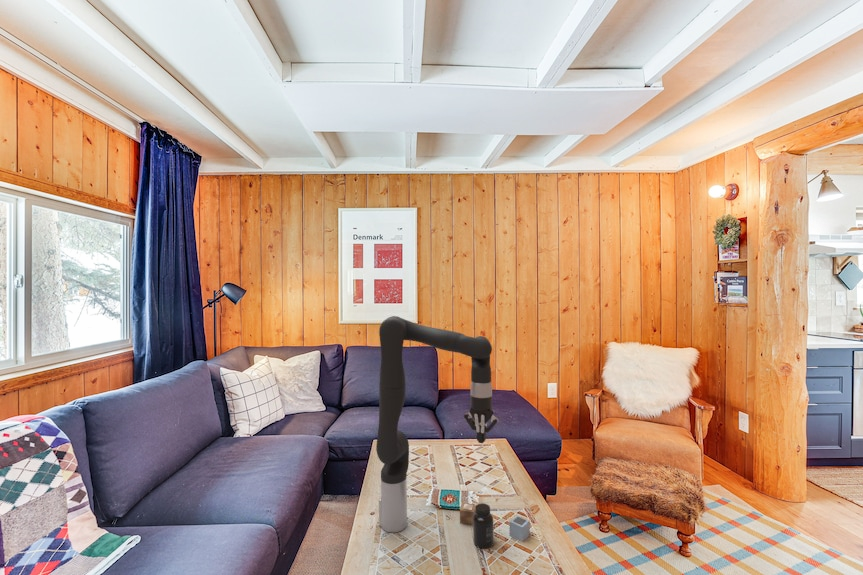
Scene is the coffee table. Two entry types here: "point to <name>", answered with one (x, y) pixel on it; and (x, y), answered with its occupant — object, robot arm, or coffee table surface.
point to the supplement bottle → (483, 526)
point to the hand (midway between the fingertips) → (481, 442)
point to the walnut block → (467, 513)
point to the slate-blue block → (519, 528)
